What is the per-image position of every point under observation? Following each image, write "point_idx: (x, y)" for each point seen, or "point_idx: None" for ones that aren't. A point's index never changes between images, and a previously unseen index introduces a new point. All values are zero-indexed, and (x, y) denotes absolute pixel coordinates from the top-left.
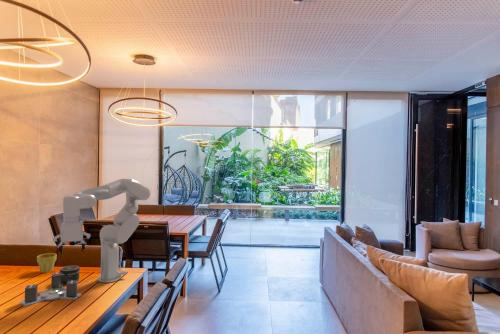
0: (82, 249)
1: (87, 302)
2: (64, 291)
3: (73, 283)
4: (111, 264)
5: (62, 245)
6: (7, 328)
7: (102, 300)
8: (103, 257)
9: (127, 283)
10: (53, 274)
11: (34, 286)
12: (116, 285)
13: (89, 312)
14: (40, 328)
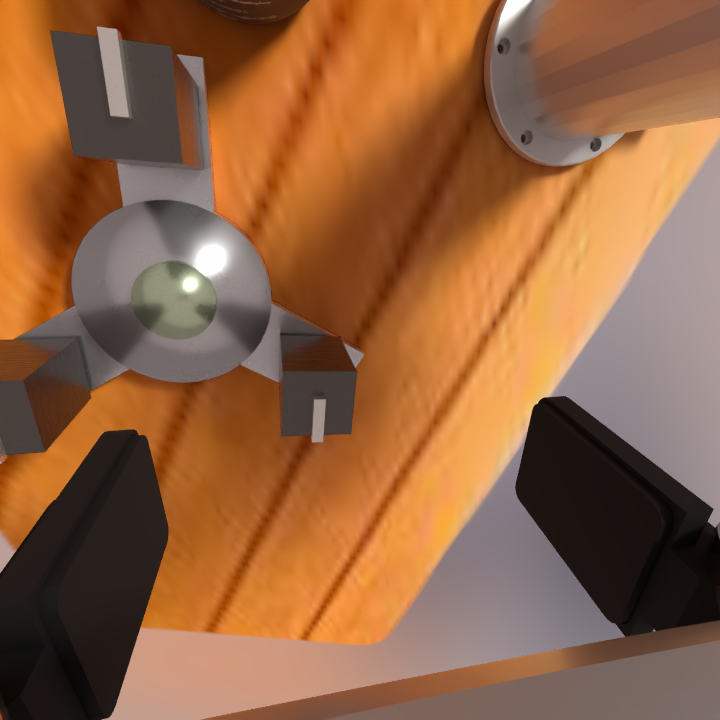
0: (547, 525)
1: (390, 450)
2: (255, 310)
3: (330, 433)
4: (691, 120)
5: (67, 621)
6: None
7: (457, 445)
8: (715, 51)
9: (633, 235)
10: (74, 85)
11: (19, 427)
12: (569, 246)
13: (394, 545)
14: (223, 628)
